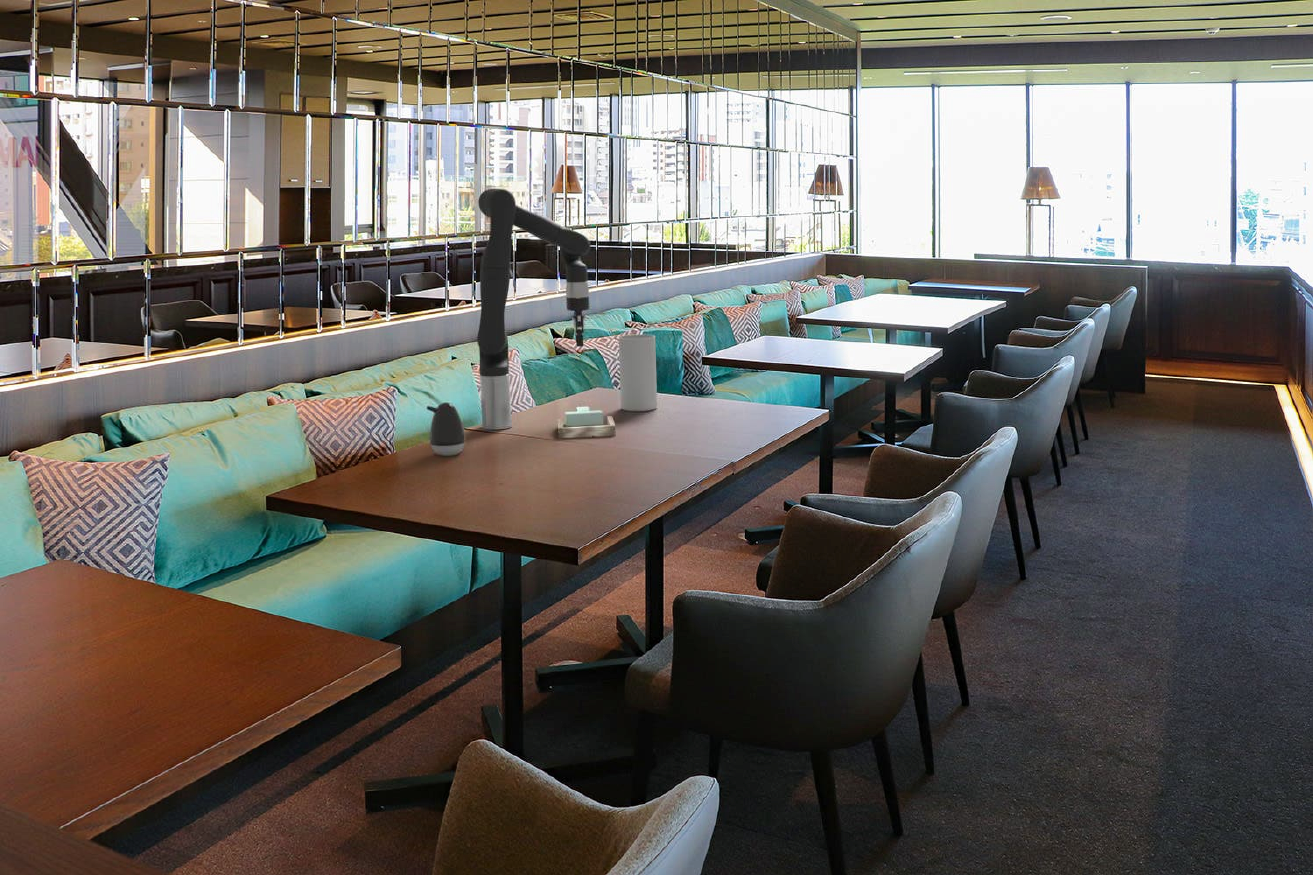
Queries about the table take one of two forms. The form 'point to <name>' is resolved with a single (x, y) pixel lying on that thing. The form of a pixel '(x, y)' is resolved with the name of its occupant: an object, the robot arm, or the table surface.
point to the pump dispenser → (446, 430)
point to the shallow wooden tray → (587, 430)
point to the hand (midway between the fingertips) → (579, 344)
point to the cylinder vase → (637, 372)
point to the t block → (584, 417)
